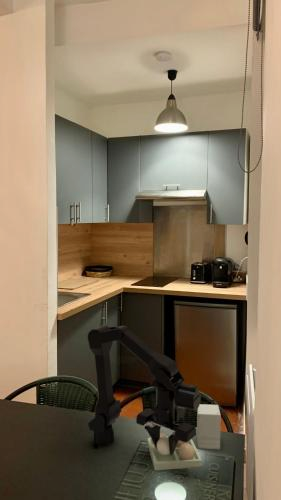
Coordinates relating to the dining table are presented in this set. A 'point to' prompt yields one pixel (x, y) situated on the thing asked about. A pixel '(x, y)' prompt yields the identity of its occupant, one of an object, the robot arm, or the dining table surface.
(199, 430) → the supplement box
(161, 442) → the white egg
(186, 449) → the brown egg front right
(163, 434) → the brown egg back left
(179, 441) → the brown egg back right
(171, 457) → the egg tray
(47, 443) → the dining table surface
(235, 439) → the dining table surface
